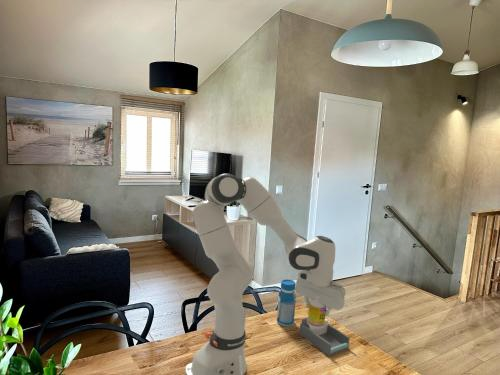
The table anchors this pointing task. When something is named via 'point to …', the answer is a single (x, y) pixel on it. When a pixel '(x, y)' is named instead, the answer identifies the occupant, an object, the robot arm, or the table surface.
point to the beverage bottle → (286, 303)
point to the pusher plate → (321, 330)
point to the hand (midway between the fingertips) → (317, 311)
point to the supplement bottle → (316, 313)
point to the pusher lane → (325, 339)
